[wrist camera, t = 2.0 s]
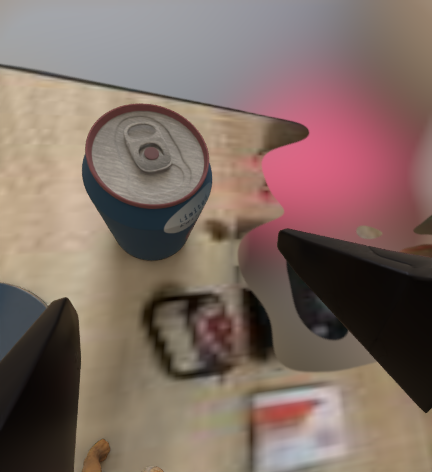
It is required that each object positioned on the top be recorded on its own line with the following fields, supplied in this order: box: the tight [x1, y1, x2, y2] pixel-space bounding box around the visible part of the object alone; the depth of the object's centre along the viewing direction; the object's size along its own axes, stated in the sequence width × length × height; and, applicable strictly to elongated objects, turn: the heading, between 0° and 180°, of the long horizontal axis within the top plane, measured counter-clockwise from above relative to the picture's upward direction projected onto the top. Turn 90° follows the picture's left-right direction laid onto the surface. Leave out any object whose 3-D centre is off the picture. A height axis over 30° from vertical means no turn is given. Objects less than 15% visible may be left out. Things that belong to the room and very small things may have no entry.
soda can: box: [82, 104, 212, 260], centre depth 16 cm, size 7×7×12 cm
